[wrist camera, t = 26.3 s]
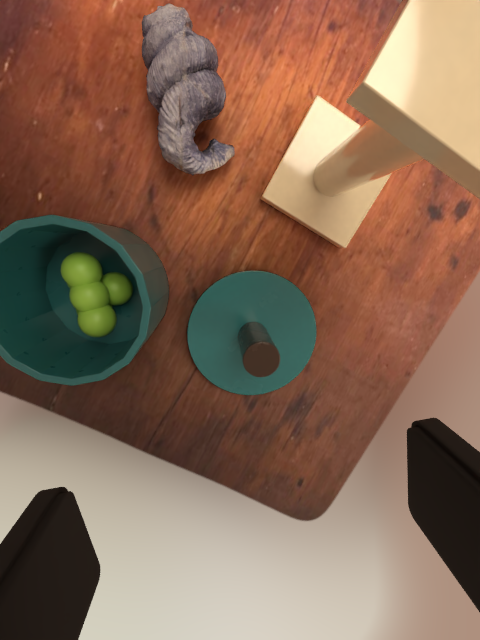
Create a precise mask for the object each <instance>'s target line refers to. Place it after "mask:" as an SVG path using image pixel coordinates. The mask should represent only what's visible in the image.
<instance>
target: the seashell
mask: <svg viewBox="0 0 480 640" xmlns="http://www.w3.org/2000/svg"><path fill="white" fill-rule="evenodd" d="M192 27H193V25H192V22H191V20H190V18H189V14H188V13H187V11H186V10H185V8H182V7H176V6H174V5H172V4H166V5H165V6H158V9H157V10H156V11H155V12H154V13H151V14H149V15H147V16H145V15H144V17H143V20H142V31H143V37H144V39H143V43H142V57H143V60H144V63H145V66H146V67H147V69H148V74H147V76H146V77H147V88H146V89H147V94H148V99H149V101H150V103H151V104H152V105H153V106H154V107H155V109H156V110H157V111H158V112H159V116H158V119H159V125H158V128H157V130H158V131H159V132H158V140H159V146H160V149H161V150H162V155H163V158H164V159H165V160H166V161H167V162H168V163H171V164H173V165H174V166H175V167H176V168H178V169H180V170H181V171H183V172H186V173H189V174H192V175H194V174H202V173H205V172H207V171H210V170H214V169H217V168H219V167H220V166H222V165H224V164H225V163H226V162H227V161H228V160H229V159H230V158H231V157H234V154H235V153H234V147H233V146H232V145H226V144H223V143H219V142H218V141H217V140H216V139H212V140H211V141H209V146H208V148H207V149H205V150H204V151H202V152H201V151H200V150H199V149H198V147H197V145H196V144H195V143H194V140H193V137H194V136H195V130H196V129H197V127H198V125H199V124H200V123H201V122H202V121H205V120H209V119H210V120H211V119H212V118H215V117H216V116H218V115H219V113H220V112H221V111H222V109H223V107H224V102H225V98H226V92H225V88H224V84H223V81H222V80H221V78H220V77H219V75H218V74H217V73H216V71H217V67H218V56H217V51H216V49H215V47H214V46H213V44H212V43H211V42H210V41H209V40H208V39H207V38H205V37H203V36H200V35H197V34H196V33H194V32H193V31H192Z"/></svg>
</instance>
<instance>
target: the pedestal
mask: <svg viewBox="0 0 480 640" xmlns="http://www.w3.org/2000/svg"><path fill="white" fill-rule="evenodd" d="M346 102H347V103H348V104H350V105H351V106H352V107H354V108H355V109H357V110H358V111H359V112H361V113H362V114H363V115H365V116H366V117H367V118H369V120H368V121H366V122H365V123H364V124H363V125H362V126H360V125H359V124H357V123H356V122H355V121H353V120H352V119H350V118H349V117H348V116H346V115H345V114H343V113H342V112H341V111H339V110H338V109H337V108H335V107H334V106H332V105H331V104H330V103H328V102H327V101H325V100H324V99H323V98H321V97H320V96H318V95H317V96H316V97H315V99H314V100H313V102H312V103H311V105H310V107H309V109H308V111H307V113H306V115H305V116H304V118H303V120H302V122H301V124H300V126H299V127H298V129H297V131H296V133H295V135H294V137H293V139H292V140H291V142H290V144H289V146H288V148H287V150H286V152H285V153H284V155H283V157H282V159H281V161H280V163H279V164H278V166H277V168H276V170H275V172H274V174H273V176H272V177H271V179H270V181H269V183H268V185H267V187H266V188H265V190H264V192H263V194H262V196H261V198H260V199H261V200H263V201H265V202H266V203H268V204H269V205H271V206H273V207H274V208H276V209H277V210H279V211H281V212H282V213H284V214H286V215H287V216H289V217H290V218H292V219H294V220H295V221H297V222H298V223H300V224H302V225H303V226H305V227H306V228H308V229H310V230H311V231H313V232H315V233H316V234H318V235H319V236H321V237H323V238H324V239H326V240H327V241H329V242H331V243H332V244H334V245H335V246H337V247H339V248H346V247H347V245H348V244H349V242H350V240H351V239H352V237H353V235H354V234H355V232H356V231H357V229H358V227H359V226H360V224H361V222H362V221H363V219H364V218H365V216H366V214H367V213H368V211H369V209H370V208H371V206H372V205H373V203H374V201H375V200H376V198H377V196H378V195H379V193H380V192H381V190H382V188H383V187H384V185H385V183H386V182H387V180H388V179H389V177H390V175H391V174H392V173H393V172H396V171H398V170H401V169H403V168H405V167H408V166H410V165H413V164H415V163H417V162H420V161H422V160H426V161H428V162H429V163H431V164H432V165H433V166H435V167H436V168H437V169H439V170H440V171H442V172H443V173H444V174H446V175H447V176H448V177H450V178H451V179H453V180H454V181H455V182H457V183H458V184H459V185H461V186H462V187H464V188H465V189H466V190H468V191H469V192H470V193H472V194H473V195H474V196H476V197H477V198H479V199H480V0H402V2H401V4H400V6H399V7H398V9H397V11H396V13H395V14H394V16H393V18H392V20H391V22H390V23H389V25H388V27H387V29H386V30H385V32H384V34H383V36H382V38H381V39H380V41H379V43H378V45H377V46H376V48H375V50H374V52H373V54H372V55H371V57H370V59H369V61H368V63H367V64H366V66H365V68H364V70H363V71H362V73H361V75H360V77H359V79H358V80H357V82H356V84H355V86H354V87H353V89H352V91H351V93H350V95H349V96H348V98H347V101H346Z"/></svg>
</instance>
